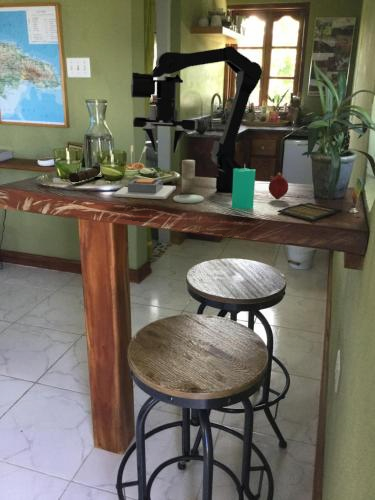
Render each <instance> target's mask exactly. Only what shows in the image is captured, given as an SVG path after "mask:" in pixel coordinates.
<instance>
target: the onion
mask: <svg viewBox="0 0 375 500" xmlns="http://www.w3.org/2000/svg"><path fill="white" fill-rule="evenodd" d="M268 192H269V193H270V195H271V196H272V197H273V198H275V200H280V199H281V198H283V197H285V196H286V195H287V193H288V192H289V183H288V181H287V179H286V178H285V177H284V176H283V175H282V173H281V172H278V173H277V175H275V176H274V177H273V178H272V179H271V180H270V182H269V184H268Z"/></svg>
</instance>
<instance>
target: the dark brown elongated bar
mask: <svg viewBox="0 0 375 500" xmlns="http://www.w3.org/2000/svg"><path fill="white" fill-rule="evenodd" d="M99 173H100V165H99V164H96V165H92V168H89V169H86V170H83V171H82V170H81V171H77V172H71V173H69V174H68V181H71V182H79V181H81V182H83V181H82V180H84V181H86V179H88V180H91V179H93V178H92V177H95V176H97V175H98V174H99ZM90 178H91V179H90Z"/></svg>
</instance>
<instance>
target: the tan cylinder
mask: <svg viewBox="0 0 375 500" xmlns="http://www.w3.org/2000/svg"><path fill="white" fill-rule="evenodd" d="M195 166H196V160H194V159H184V160H182V161H181V194H183V195H194V193H195V182H196V181H195V176H196V175H195V174H196V172H195V171H196V170H195V169H196V167H195Z"/></svg>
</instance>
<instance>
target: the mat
mask: <svg viewBox="0 0 375 500" xmlns="http://www.w3.org/2000/svg"><path fill="white" fill-rule="evenodd" d="M173 201H174V202H176V203H180V204H198V203H203V202H204V201H205V197H204V196H203V195H202V196H201V195H199V194H198V195H197V194H177V195H174V196H173Z"/></svg>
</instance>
